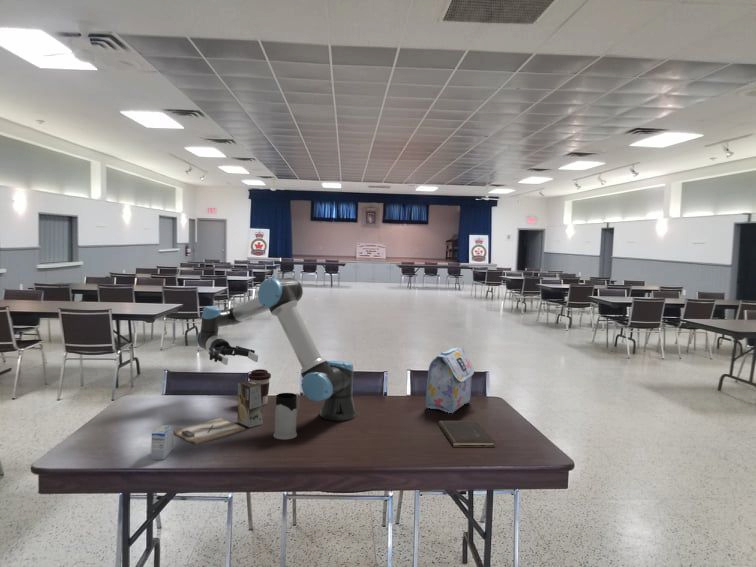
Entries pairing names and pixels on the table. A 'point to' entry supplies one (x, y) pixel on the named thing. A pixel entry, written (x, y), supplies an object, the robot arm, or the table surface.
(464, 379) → the lunch bag
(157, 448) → the medicine box
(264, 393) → the coffee cup
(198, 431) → the clipboard
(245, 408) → the coffee box
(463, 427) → the hardcover book
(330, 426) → the table surface
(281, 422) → the grey mug
